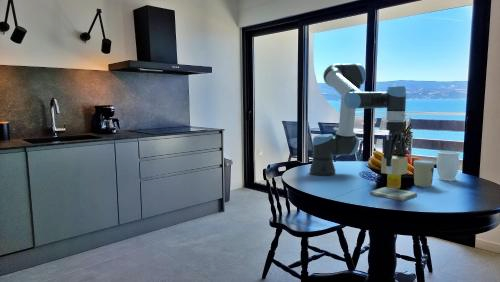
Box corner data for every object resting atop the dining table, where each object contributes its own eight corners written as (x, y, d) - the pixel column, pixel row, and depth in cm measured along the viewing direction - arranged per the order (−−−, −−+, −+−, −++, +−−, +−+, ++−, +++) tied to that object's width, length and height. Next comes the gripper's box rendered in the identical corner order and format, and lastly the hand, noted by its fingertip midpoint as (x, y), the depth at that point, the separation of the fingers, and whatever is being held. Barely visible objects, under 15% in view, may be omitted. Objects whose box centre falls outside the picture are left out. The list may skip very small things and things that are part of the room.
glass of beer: (385, 187, 163) (385, 157, 161) (390, 185, 167) (391, 156, 165) (397, 189, 158) (398, 158, 157) (402, 187, 163) (403, 157, 161)
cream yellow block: (381, 172, 149) (381, 157, 148) (390, 170, 154) (390, 155, 153) (398, 175, 143) (398, 159, 142) (407, 173, 148) (407, 157, 147)
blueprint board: (370, 194, 151) (370, 191, 151) (385, 189, 159) (385, 186, 159) (402, 200, 140) (402, 197, 139) (416, 195, 148) (417, 192, 148)
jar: (462, 180, 176) (464, 152, 174) (449, 182, 172) (450, 153, 171) (444, 176, 186) (445, 150, 184) (431, 178, 182) (432, 151, 180)
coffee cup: (436, 187, 162) (437, 163, 161) (415, 186, 164) (416, 162, 163) (430, 183, 171) (431, 160, 170) (410, 182, 173) (411, 159, 172)
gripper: (392, 122, 137) (390, 176, 139) (415, 120, 150) (413, 170, 152) (375, 121, 142) (374, 174, 145) (398, 120, 156) (397, 168, 158)
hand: (394, 172), depth 148 cm, fingers closed on cream yellow block, 8 cm apart
